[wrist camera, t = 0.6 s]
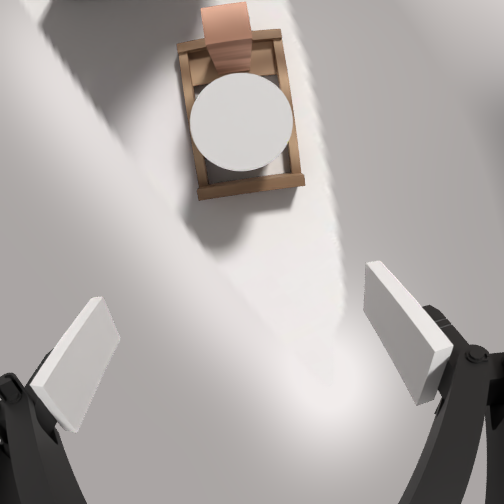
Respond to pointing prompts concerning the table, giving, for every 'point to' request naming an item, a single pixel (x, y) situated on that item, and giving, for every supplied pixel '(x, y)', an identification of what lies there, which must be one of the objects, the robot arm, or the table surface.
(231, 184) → the sled
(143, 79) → the table surface
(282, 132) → the cup
